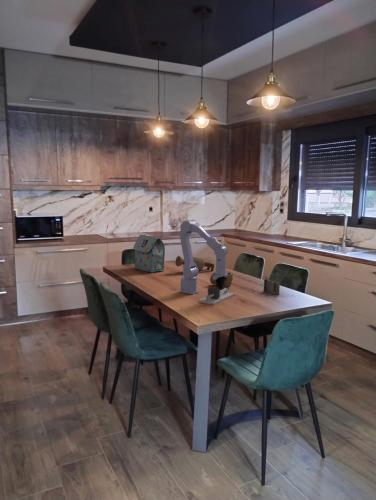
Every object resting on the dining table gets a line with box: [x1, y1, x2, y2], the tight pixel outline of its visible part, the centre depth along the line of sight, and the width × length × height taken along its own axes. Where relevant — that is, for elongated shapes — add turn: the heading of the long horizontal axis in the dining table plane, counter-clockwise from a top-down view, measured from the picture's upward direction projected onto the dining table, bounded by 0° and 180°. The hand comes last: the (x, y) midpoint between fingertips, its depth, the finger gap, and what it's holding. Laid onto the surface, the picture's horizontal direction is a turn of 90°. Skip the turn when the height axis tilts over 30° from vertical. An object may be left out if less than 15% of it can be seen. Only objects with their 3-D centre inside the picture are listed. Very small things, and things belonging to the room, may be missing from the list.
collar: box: [207, 287, 220, 299], centre depth 227 cm, size 3×6×5 cm, turn 56°
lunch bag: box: [133, 234, 166, 273], centre depth 303 cm, size 23×16×27 cm
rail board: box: [198, 288, 235, 306], centre depth 231 cm, size 24×10×4 cm, turn 146°
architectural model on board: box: [263, 276, 281, 296], centre depth 245 cm, size 11×3×10 cm, turn 29°
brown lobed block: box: [209, 271, 234, 289], centre depth 257 cm, size 9×16×10 cm, turn 33°
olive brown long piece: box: [175, 255, 215, 272], centre depth 301 cm, size 10×12×30 cm
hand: (220, 289), depth 233 cm, fingers closed
